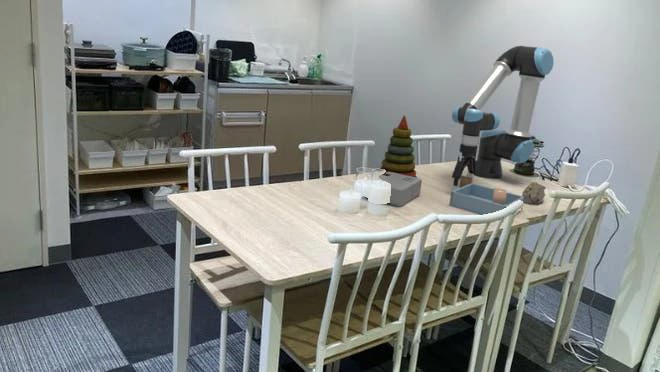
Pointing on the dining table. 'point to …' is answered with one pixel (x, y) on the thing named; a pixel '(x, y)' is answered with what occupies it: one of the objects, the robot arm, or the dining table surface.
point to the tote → (479, 199)
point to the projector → (402, 187)
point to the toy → (400, 152)
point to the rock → (533, 193)
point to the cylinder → (499, 196)
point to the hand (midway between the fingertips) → (461, 189)
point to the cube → (465, 181)
